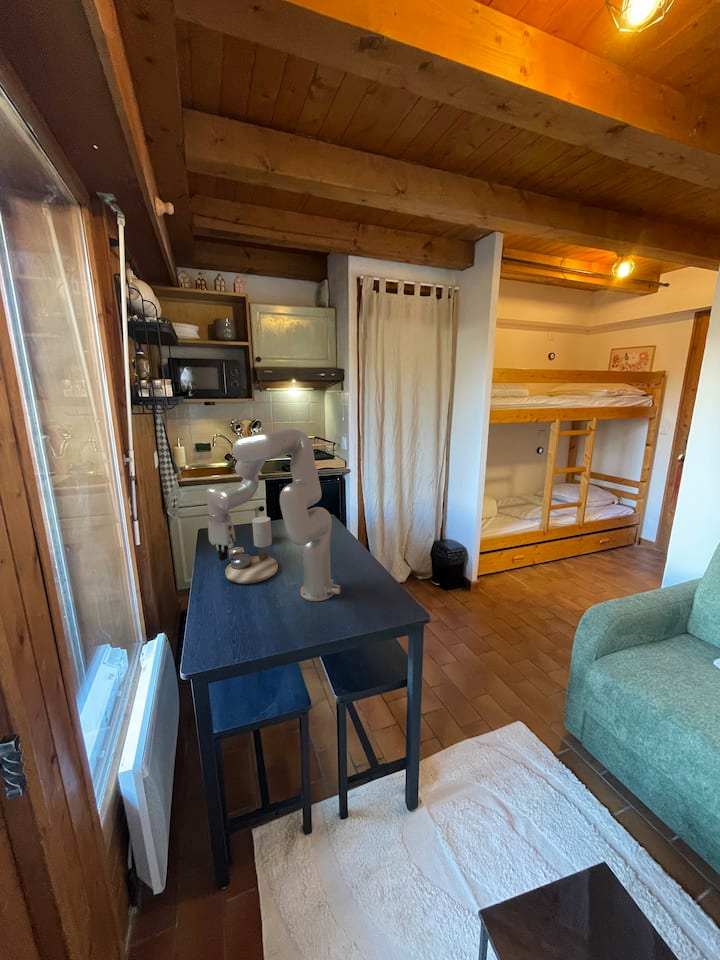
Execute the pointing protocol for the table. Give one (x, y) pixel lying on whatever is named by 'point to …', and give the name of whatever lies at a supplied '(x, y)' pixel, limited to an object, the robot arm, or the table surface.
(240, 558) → the disc
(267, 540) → the cup
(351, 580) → the table surface
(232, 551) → the dial gauge
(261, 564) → the turntable
